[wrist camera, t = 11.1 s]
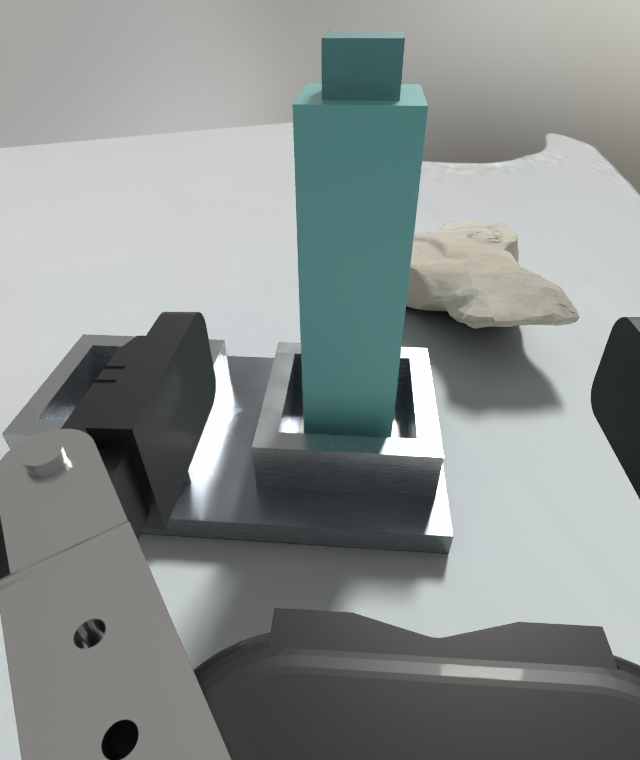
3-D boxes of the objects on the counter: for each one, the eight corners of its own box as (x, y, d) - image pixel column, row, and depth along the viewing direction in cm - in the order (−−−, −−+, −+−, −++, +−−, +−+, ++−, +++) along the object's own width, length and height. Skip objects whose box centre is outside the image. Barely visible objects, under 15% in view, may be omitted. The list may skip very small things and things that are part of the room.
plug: (304, 455, 25) (290, 40, 14) (313, 401, 28) (307, 29, 18) (388, 461, 24) (434, 40, 14) (388, 406, 27) (425, 29, 17)
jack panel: (-3, 523, 23) (-38, 467, 21) (106, 366, 33) (90, 315, 30) (448, 553, 22) (463, 496, 20) (425, 380, 31) (433, 328, 29)
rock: (324, 372, 33) (576, 369, 30) (317, 306, 30) (590, 297, 28) (351, 256, 50) (511, 248, 48) (348, 208, 48) (516, 197, 46)
